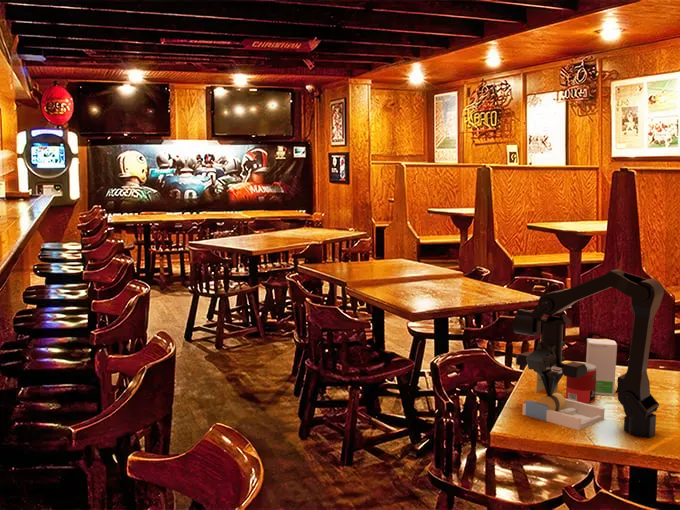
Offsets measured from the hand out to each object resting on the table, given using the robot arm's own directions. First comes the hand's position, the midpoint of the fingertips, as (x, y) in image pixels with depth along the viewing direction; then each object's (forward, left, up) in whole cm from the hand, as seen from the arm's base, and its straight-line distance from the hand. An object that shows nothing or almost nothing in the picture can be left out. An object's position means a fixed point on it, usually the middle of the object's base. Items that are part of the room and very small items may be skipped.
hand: (549, 395), depth 207 cm
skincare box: (+3, -31, -6) cm, 32 cm away
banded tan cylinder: (0, 0, -5) cm, 5 cm away
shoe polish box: (+12, -17, -6) cm, 22 cm away
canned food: (+1, -17, -6) cm, 18 cm away
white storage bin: (-4, 0, -6) cm, 7 cm away
